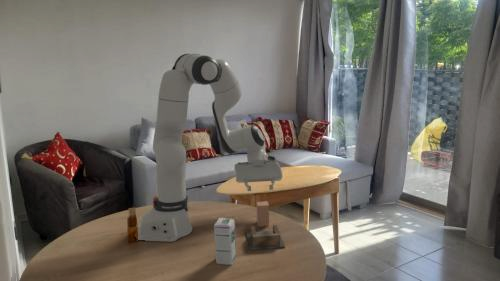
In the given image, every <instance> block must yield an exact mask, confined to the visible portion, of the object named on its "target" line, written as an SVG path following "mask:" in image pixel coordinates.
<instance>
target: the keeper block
mask: <svg viewBox="0 0 500 281" xmlns="http://www.w3.org/2000/svg"><path fill="white" fill-rule="evenodd" d="M256 223H257V227H269V226H270V204H269V202H268V201H267V200H264V201H256Z"/></svg>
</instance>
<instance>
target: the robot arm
mask: <svg viewBox="0 0 500 281" xmlns="http://www.w3.org/2000/svg"><path fill="white" fill-rule="evenodd" d="M193 84H196V85H202V86H205V85H206V86H207V85H209V86H210V88H211V90H212V92H213V96H214V100H213V101H212V105H211V109H212V114H213V119H214V121H215V125H216V128H217V133H218V136H219V142H220V146H221V149H222V151H223V152H225V153H227V154H229V155H233V154H236V153H238V152H241V151H244V150H246V151H247V155H246V160H247V161H244V162H243V161H242V162H240V161H239V162H237V163H235V164H234V171H235V182H236V183H238V184H239V183H242V184H243V183H244V186H245V187H246V188H247V189H246V190H247V192H252V186H251V185H249V184H248V183H260V182H270V183H271V184H269V186H268V189H269V191H274V184H275V183H276V182H278V181H279V182H280V181H281V180H282V179H283V171H282V166H281V165H280V163H279V162H278V160H279V159H278V156H275V155H270V154H267V151H266V140H265V135H264V132H263V130H262V129H261V128H259V126H257V125H254V124H251V125H247V126H243V127H240V128H237V129H233V130H232V129H231V130H230V129H229V127H228V123H227V120H226V114H227V112H229V111H230V110H231V109H232V108H234V107H235V106H236V105H237V104H238V102H239V101H240V100H241V97H242V92H243V91H242V88H241V84H240V82H239V79H238V78H237V75H236V74H235V72H234V71H233V69H232V67H231V66H230V64H229V63H228V61H227V60H224V59H219V58H218V59H214V58H212V57H211V56H209V55H204V54H200V53H184V54H181V55H180V56H179V57H177V59H176V60H175V62H174V64H173V66H172V68H171V69H170V70H167V71H165V72H164V73H163V75H162V77H161V81H160V85H159V91H158V98H157V110H156V111H157V113H156V121H155V128H154V133H153V140H152V150H153V152H154V157H155V163H156V164H155V166H156V192H157V195H154V196H153V198H152V206H153V207H152V208H151V209H150V210H148V211H147V212H145V213H144V214H143V216H142V217H141V219H140V223H139V226H137V227H138V234H139V236H138V240H145V241H146V242H165V243H166V242H171V243H172V242H176V241H177V240H178V239H180V238H183V237H185V236H188V235H190V234H191V232H192V231H193V226H192V223H191V220H190V217H189V199H188V195H187V184H186V182H187V181H186V172H187V150H186V147H185V145H184V143H183V136H184V131H185V127H186V123H187V119H188V118H187V117H188V108H189V107H188V106H189V96H190V90H191V87H192V86H193ZM138 240H137V241H138ZM145 241H144V242H145Z"/></svg>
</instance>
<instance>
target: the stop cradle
mask: <svg viewBox="0 0 500 281" xmlns="http://www.w3.org/2000/svg"><path fill="white" fill-rule="evenodd" d="M256 230H257V229H256V226H253V225H252V226H250V231H248V232H247V231H246V234H245V235H246V239H247V243H248V250H249V251H255V250H256V251H257V250H270V249H271V250H273V249H285V248H286V245H285V243H284V240H283V236H282V234H281V231H280V230H279V227H278V225H277V224H272V230H263V231H261V230H260V231H256Z"/></svg>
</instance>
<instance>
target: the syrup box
mask: <svg viewBox="0 0 500 281" xmlns="http://www.w3.org/2000/svg"><path fill="white" fill-rule="evenodd" d="M216 220H217V221H216V222H215V223H214V225H213V230H214V247H215V248H214V250H215V261H216V262H215V263H216V264H217V265H227V266H233V264H234V262H235V260H236V257H237V248H236V247H237V243H236V242H237V241H236V225H235V219H234V218H230V217H218V219H216Z"/></svg>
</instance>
